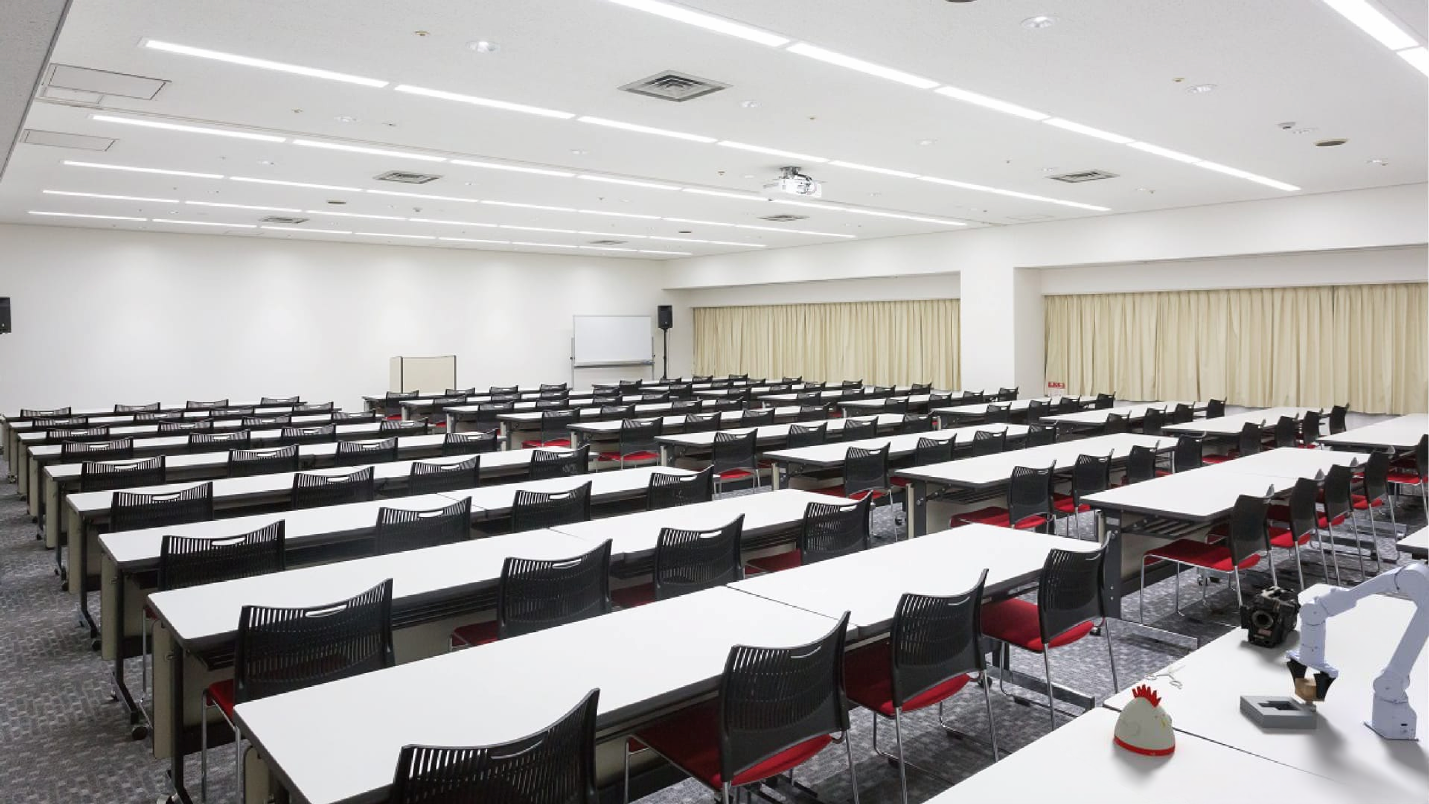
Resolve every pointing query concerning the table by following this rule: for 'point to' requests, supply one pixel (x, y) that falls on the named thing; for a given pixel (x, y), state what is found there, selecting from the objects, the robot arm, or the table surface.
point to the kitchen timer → (1145, 725)
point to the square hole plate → (1278, 712)
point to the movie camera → (1271, 616)
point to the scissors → (1169, 675)
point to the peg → (1307, 692)
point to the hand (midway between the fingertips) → (1309, 693)
